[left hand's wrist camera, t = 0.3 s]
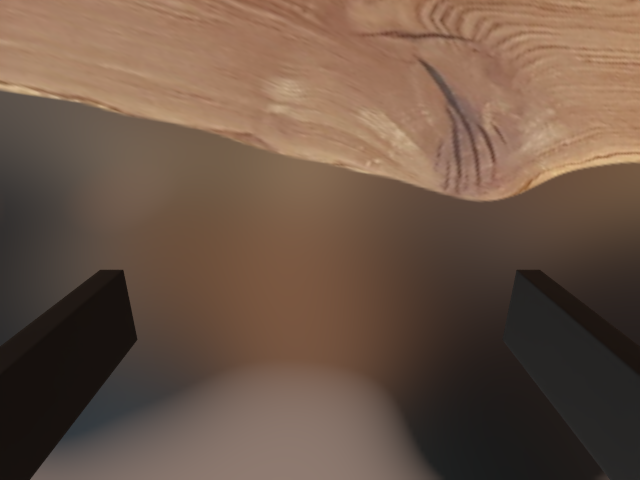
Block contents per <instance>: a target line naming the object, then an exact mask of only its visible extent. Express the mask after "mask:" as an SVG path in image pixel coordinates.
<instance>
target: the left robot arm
mask: <svg viewBox="0 0 640 480" xmlns="http://www.w3.org/2000/svg"><path fill="white" fill-rule="evenodd" d="M136 341H137V336H136V331H135V326H134V321H133V316H132V311H131V306H130V301H129V296H128V291H127V286H126V281H125V276H124V271H123V270H99V271H98V272H97V273H96V274H94V275H93V276H92V277H90V278H89V279H88V280H86V281H85V282H84V283H83V284H81V285H80V286H79V287H77V288H76V289H75V290H73V291H72V292H71V293H69V294H68V295H67V296H65V297H64V298H63V299H62V300H60V301H59V302H58V303H56V304H55V305H54V306H52V307H51V308H50V309H49V310H47V311H46V312H45V313H43V314H42V315H41V316H39V317H38V318H37V319H35V320H34V321H33V322H32V323H30V324H29V325H28V326H26V327H25V328H24V329H22V330H21V331H20V332H18V333H17V334H16V335H15V336H13V337H12V338H11V339H9V340H8V341H7V342H5V343H4V344H3V345H1V346H0V480H30V479H31V477H32V476H33V475H34V474H35V472H36V471H37V470H38V468H39V467H40V466H41V464H42V463H43V462H44V461H45V459H46V458H47V457H48V455H49V454H50V453H51V452H52V450H53V449H54V448H55V446H56V445H57V444H58V442H59V441H60V440H61V438H62V437H63V436H64V435H65V433H66V432H67V431H68V429H69V428H70V427H71V425H72V424H73V423H74V422H75V420H76V419H77V418H78V416H79V415H80V414H81V412H82V411H83V410H84V409H85V407H86V406H87V405H88V403H89V402H90V401H91V399H92V398H93V397H94V395H95V394H96V393H97V392H98V390H99V389H100V388H101V386H102V385H103V384H104V382H105V381H106V380H107V379H108V377H109V376H110V375H111V373H112V372H113V371H114V369H115V368H116V367H117V366H118V364H119V363H120V362H121V360H122V359H123V358H124V356H125V355H126V354H127V352H128V351H129V350H130V349H131V347H132V346H133V345H134V343H135V342H136ZM503 341H504V342H505V343H506V345H507V346H508V347H509V349H510V350H511V351H512V352H513V354H514V355H515V356H516V358H517V359H518V360H519V362H520V363H521V364H522V366H523V367H524V368H525V369H526V371H527V372H528V373H529V375H530V376H531V377H532V378H533V380H534V381H535V382H536V384H537V385H538V386H539V388H540V389H541V390H542V392H543V393H544V394H545V395H546V397H547V398H548V399H549V401H550V402H551V403H552V405H553V406H554V407H555V409H556V410H557V411H558V412H559V414H560V415H561V416H562V418H563V419H564V420H565V422H566V423H567V424H568V425H569V427H570V428H571V429H572V431H573V432H574V433H575V435H576V436H577V437H578V438H579V440H580V441H581V442H582V444H583V445H584V446H585V448H586V449H587V450H588V451H589V453H590V454H591V455H592V457H593V458H594V459H595V461H596V462H597V463H598V465H599V466H600V467H601V468H602V470H603V471H604V472H605V474H606V475H607V476H608V478H609V479H610V480H640V346H639V345H637V344H636V343H635V342H633V341H632V340H631V339H629V338H628V337H627V336H625V335H624V334H623V333H622V332H620V331H619V330H618V329H616V328H615V327H614V326H612V325H611V324H610V323H608V322H607V321H606V320H605V319H603V318H602V317H601V316H599V315H598V314H597V313H595V312H594V311H593V310H591V309H590V308H589V307H588V306H586V305H585V304H584V303H582V302H581V301H580V300H578V299H577V298H576V297H575V296H573V295H572V294H571V293H569V292H568V291H567V290H565V289H564V288H563V287H561V286H560V285H559V284H557V283H556V282H555V281H554V280H552V279H551V278H550V277H548V276H547V275H546V274H544V273H543V272H542V271H541V270H517V271H516V276H515V281H514V286H513V291H512V296H511V301H510V306H509V311H508V316H507V321H506V326H505V331H504V336H503Z"/></svg>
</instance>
